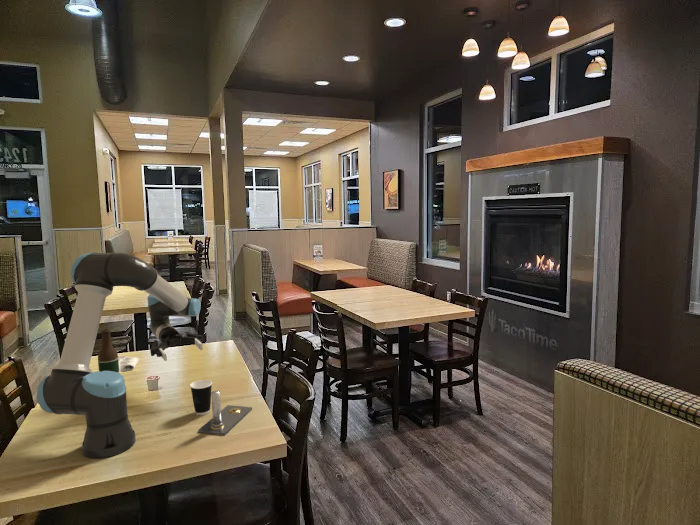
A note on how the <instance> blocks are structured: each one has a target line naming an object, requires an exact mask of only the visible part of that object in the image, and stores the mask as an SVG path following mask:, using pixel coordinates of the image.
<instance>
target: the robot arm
mask: <svg viewBox="0 0 700 525" xmlns="http://www.w3.org/2000/svg"><path fill="white" fill-rule="evenodd" d="M70 276H71V280H72V283H73V284H75V285H74V289H75V290H76V292H77V296H76V301H75V303H74V307H73V312H72V315H71V319H70V322H69V326H68V330H67V333H66V337H65V339H64V340H65V341H64V344H63V349H62V352H61V356H60V359H59V363H57V365H55V366H54V367H52V369H51V373H50V375H46V376H45V377H44V378H43V379H42V380H40V382H39V384H38V386H37V389H36V401H37V405H39V407H40V409H42V410H43V411H44V412H46V413H50V414H55V415H73V416H74V415H76V416H77V415H79V416H85V422H86V429H85V432H84V438H83V441H82V443H81V450H82V455H83V456H85V457H87V458H89V459H102V458H108V457H109V458H110V457H113V456H116V455H119V454H121V453H124V452H126V451H127V450H129V449H131V448H132V447H133V446H134V445H135V444H136V441H137V440H136V433H135V430H134V429H133V427H132V425H131V422H130V420H129V415H128V405H127V404H128V403H127V401H128V400H127V386H126V382H125V378H124V376H123V375H122V374H121V373H120V372H119V373H117V372H114V371H102V372H100V371H99V370H98V371H93V370H92V369H91V368H90V364H91V360H92V355H93V351H94V348H95V342H96V339H97V335H98V332H99V327H100V325H101V324H100V323H101V319H102V315H103V312H104V311H103V310H104V306H105V302H106V299H107V298H108V297H109V296H111V295H112V293H113V290H114V287H128V288H129V287H130V288H134V289H135V290H137V291H141V292H143V291H144V292H145V293H147V294H149V295H148V296H147V299H146V300H147V307H148V314H149V320H150V321H149V330H150V332H151V333H152V335H154V336H155V337H156V338H157V339H155V340H153V343H152V346H151V348H150V350H149V351H150V356H151V357H154V356H155V355H156V357H157V358H162V359H163V361H164V362H167V361H168V359H167V353H166V352H165V350H166V349H168V348H169V347H173V346H175V345H183V344H193V345H195V346H196V347H197V348H198V349H199V350H200V351H203V350H204V347H203V342H204V336H203V335H202V334H196V333H192V332H189V331H185V332H184V334H181V333H180V332H178V330H177V329H176V328H175V327H174V326H173V325H172V324H171V323H170V322H171V321H170V317H196V316H198V315H199V314H200V312H201V308H202V307H201V306H202V305H201V301H200V300H199V299H198V298H194V297H191V298H190V297H187V295H185V294H184V293H182V292H181V290H178V289H177V287H174V285H172V284H171V283H170V282H168V281H167V280H166V279H164V278H163V277H162V276H161V275H160V274H159V273H158V270H157V269H156V268H154V266H152V265H151V264H149V263H148V262H146V261H145V260H143V259H142V258H139V257H137V256H135V255H132V254H129V253H124V252H88V253H83V254H81V255H79V256H77V257H76V258H75V260H74V261H73V263H72V265H71V268H70Z"/></svg>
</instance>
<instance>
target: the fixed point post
mask: <svg viewBox="0 0 700 525" xmlns="http://www.w3.org/2000/svg"><path fill="white" fill-rule="evenodd" d="M221 404H222V402H221V390H213V391H211V409H212V410H211V411H212V418H213V423H212V427H213V428H220V427H222V426H223V421H222V419H221V410H222V405H221Z"/></svg>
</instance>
